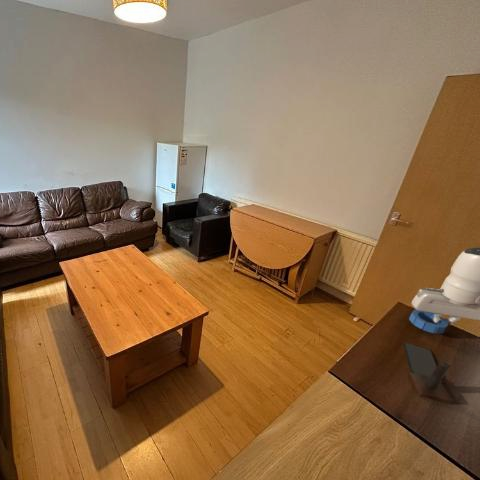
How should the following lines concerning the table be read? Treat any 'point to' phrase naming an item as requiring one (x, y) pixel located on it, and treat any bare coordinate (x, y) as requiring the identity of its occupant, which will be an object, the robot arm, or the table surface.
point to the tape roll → (427, 326)
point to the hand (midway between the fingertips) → (441, 323)
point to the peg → (432, 384)
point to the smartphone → (420, 360)
